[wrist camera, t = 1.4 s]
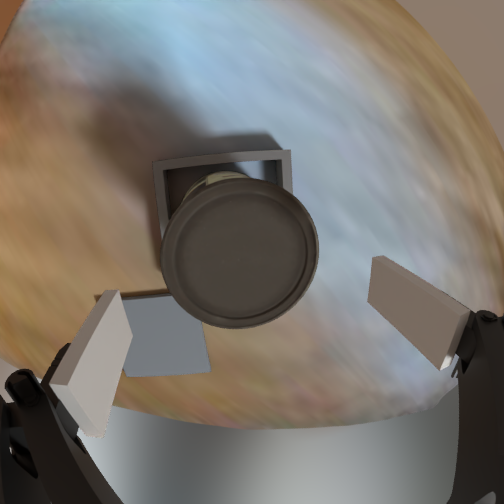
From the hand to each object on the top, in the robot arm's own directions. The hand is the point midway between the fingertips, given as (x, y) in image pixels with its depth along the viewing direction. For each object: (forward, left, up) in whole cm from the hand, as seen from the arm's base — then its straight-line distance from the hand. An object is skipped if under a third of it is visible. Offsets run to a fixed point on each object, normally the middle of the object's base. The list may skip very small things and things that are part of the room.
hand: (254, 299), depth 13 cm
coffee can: (0, 0, -19) cm, 19 cm away
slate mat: (+15, -11, -18) cm, 26 cm away
